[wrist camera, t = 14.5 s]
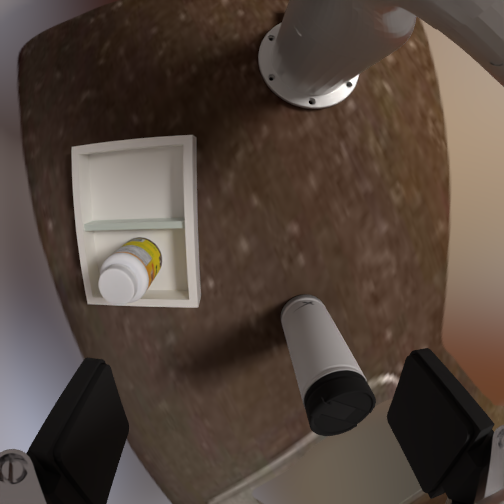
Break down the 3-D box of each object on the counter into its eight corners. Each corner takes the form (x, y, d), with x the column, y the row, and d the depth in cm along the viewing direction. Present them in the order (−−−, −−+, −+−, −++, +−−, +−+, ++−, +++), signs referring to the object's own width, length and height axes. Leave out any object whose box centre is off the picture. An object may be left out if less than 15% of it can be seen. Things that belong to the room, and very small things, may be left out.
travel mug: (296, 284, 40) (341, 382, 21) (333, 307, 42) (393, 404, 22) (269, 320, 42) (291, 431, 22) (307, 340, 43) (346, 447, 24)
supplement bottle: (147, 285, 39) (122, 323, 29) (115, 258, 38) (81, 288, 28) (172, 256, 38) (152, 287, 28) (139, 226, 37) (109, 249, 27)
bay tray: (84, 147, 34) (71, 147, 31) (196, 137, 35) (192, 134, 31) (97, 293, 39) (87, 303, 36) (201, 295, 40) (198, 307, 37)
